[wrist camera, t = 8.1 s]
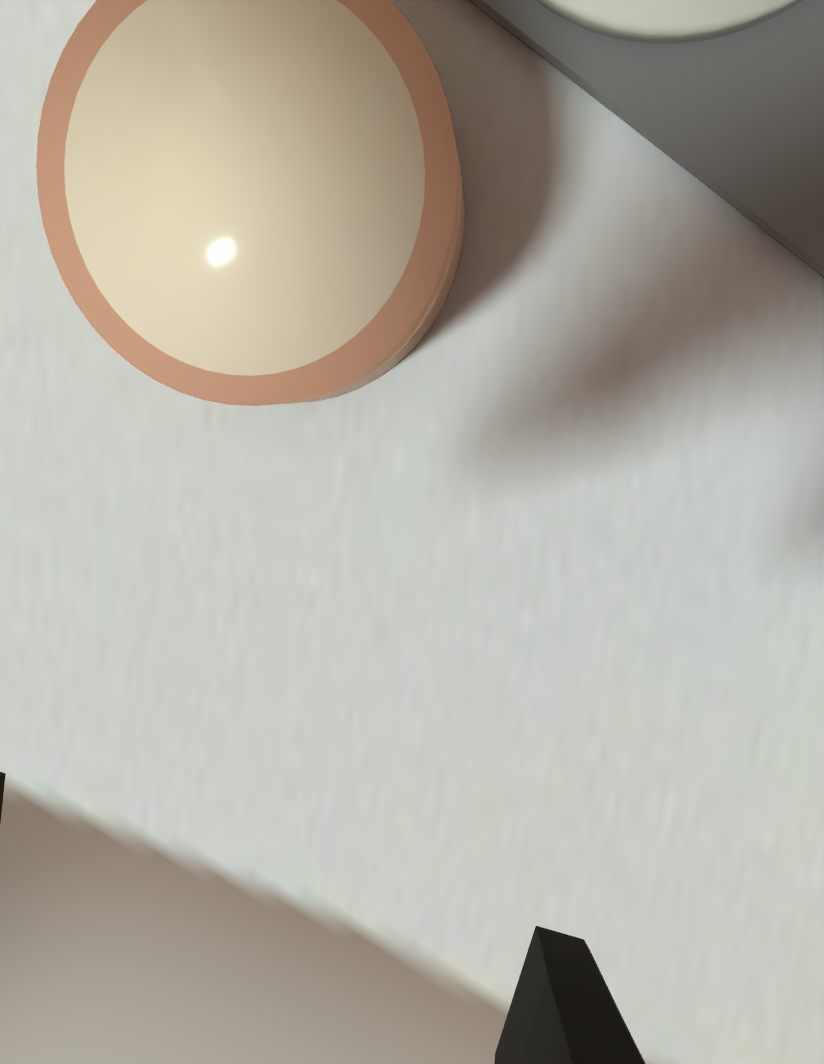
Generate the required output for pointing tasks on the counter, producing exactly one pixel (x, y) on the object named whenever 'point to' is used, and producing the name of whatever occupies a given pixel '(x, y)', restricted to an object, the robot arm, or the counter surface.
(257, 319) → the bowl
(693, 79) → the mat
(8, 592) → the counter surface
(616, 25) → the lid
